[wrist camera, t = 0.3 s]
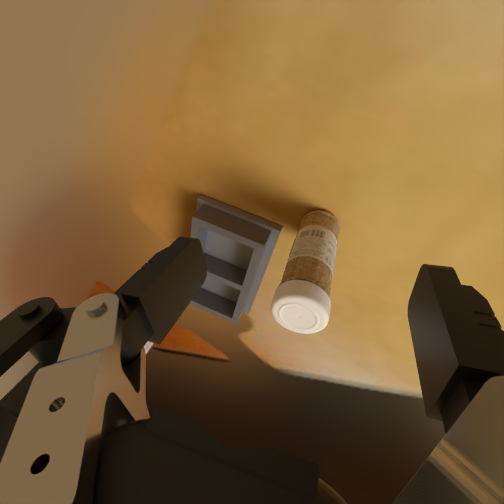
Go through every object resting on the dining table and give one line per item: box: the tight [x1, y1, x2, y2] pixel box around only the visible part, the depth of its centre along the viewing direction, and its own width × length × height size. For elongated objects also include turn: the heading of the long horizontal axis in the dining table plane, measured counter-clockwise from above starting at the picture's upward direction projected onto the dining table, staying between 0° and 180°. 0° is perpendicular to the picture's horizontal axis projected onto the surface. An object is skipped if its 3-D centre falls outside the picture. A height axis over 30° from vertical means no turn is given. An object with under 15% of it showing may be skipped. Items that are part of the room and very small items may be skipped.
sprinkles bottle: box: [271, 210, 340, 334], centre depth 25 cm, size 5×5×14 cm
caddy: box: [189, 194, 282, 324], centre depth 37 cm, size 18×11×4 cm, turn 167°
